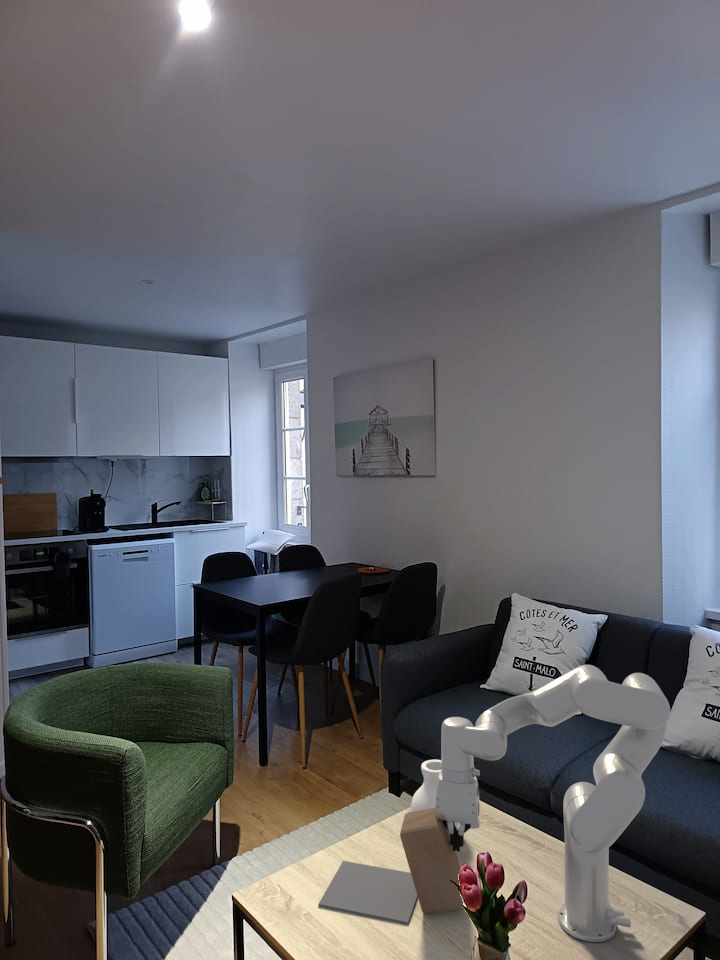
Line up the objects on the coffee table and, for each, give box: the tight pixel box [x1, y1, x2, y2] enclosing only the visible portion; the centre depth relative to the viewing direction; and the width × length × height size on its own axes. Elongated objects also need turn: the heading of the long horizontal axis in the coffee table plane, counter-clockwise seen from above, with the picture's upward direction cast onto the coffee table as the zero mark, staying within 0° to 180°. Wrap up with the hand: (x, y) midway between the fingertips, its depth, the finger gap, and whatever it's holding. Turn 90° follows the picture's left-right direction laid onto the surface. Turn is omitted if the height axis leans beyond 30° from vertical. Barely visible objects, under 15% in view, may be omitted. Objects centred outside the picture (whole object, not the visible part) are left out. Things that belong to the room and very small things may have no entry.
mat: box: [318, 860, 418, 925], centre depth 166 cm, size 22×18×1 cm
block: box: [399, 808, 464, 915], centre depth 161 cm, size 10×10×20 cm
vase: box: [410, 759, 460, 830], centre depth 190 cm, size 14×14×20 cm
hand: (456, 848), depth 159 cm, fingers closed
